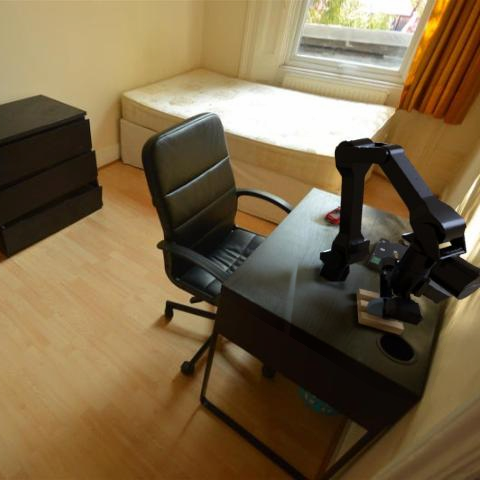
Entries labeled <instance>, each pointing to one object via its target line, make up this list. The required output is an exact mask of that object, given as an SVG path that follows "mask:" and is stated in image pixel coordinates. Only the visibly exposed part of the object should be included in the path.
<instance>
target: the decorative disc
mask: <svg viewBox="0 0 480 480" xmlns="http://www.w3.org/2000/svg"><path fill="white" fill-rule="evenodd" d="M401 240H402V243H403V244H404V246H406V247H408V246H409V244H410V243H409V242H407V241H406V240H405V239H403V238H402V239H401Z"/></svg>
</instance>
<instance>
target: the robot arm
mask: <svg viewBox="0 0 480 480" xmlns="http://www.w3.org/2000/svg"><path fill="white" fill-rule="evenodd" d="M334 164H335V165H334V166H335V168H336V170H337V172H338V174H339V175H340V177H341V184H340V185H341V186H340V204H339V205H340V206H339V207H340V222H339V225H338V233H337V235H336V236H335V237H334V239H333V241H332V242H331V247H330V249H327V250H324V251H321V252H319V260H320V261H321V264H320V266H319V268H318V269H319V270H318V276H319V277H322V278H323V279H324V280H326V281H328V282H332V283H337V282H346V281H347V278H348V276H349V275H350V272H351V268H350V267H351V266H352V265H356V264H359V263H363V262H364V261H365V260H367V258H368V256H369V255H371V252H370V246H371V240H370V239H367V238H365V237H364V235H363V233H362V224H363V209H364V197H365V196H364V195H365V183H366V175H367V174H368V172H369V171H370V169H371V168H372V167H373V165H378V166H379V169H381V171H382V173H383V174H384V175H385V177H386V178H387V180H388V181H389V183H390V184H391V186H392V188H393V189H394V190H395V192H396V193H397V195H398V196H399V198H400V199H401V201H402V203H403V204H404V206H405V207H406V209H407V211H408V213H409V216H408V217H409V218H408V220H409V225H410V228H411V230H412V231H411V232H407V233H403V234H401V236H400V237H401V238H402V239H405V240H406V241H407V242H409V243H410V244H409V246H408V247H407V246H406V247H407V249H406V250H405V252H404V254H403V255H402V257H401V258H400V259H399V258H393V257H389V256H386V257H383V258H381V260H380V262H379V263H378V264H379V270H378V271H380V270H384V269H385V272H379V274H378V276H379V278H378V281H379V282H378V283H379V294H380V298H383V297H384V298H383V305H382V319H385V320H388V319H390V318H392V319H395V320H398V322H401V323H405V324H406V323H407V324H408V325H409V324H410V325H414V326H419V325H421V323H423V321H424V320H425V318H424V317H425V316H424V314H423V310H422V307H421V305H420V303H419V302H416V301H415V300H414V299H413V298H412V296H411V295H413V297H416V298H421V297H422V296H423V297H425V298H427V299H428V300H430V301H432V302H433V303H434V304H436V305H439V304H442V303H443V302H445V301H446V300H449V299H450V298H452V297H454V298H455V299H456V300H458V301H461V300H464V299H466V298H468V297H469V296H471V295H473V294H474V293H475V292H476V291H478V290H479V289H480V267H479V266H476V265H474V264H473V263H471V262H470V261H468V260H466V259H465V258H463V257H461V256H462V255H465V254H467V252H468V251H467V242H466V235H465V234H466V233H465V232H466V229H467V227H468V225H467V222H466V220H465V218H463V217H462V216H461V214H459V213H458V212H457V210H455V208H453V207H452V206H451V205H449V204H447V203H446V202H444V201H442V200H441V199H439V198H438V197H437V196H436V195H435V193H434V192H432V190H431V189H430V187H429V186H428V184H427V183H426V182H425V180H424V179H423V177H422V176H421V174H420V173H419V172H418V171H417V169H416V168H415V166H414V165H413V164H412V162H411V160H410V159H409V158H408V157H407V155H406V153H405V150H404V147H403V146H402V145H400V144H397V143H392V144H391V143H387V142H381V141H373V140H372V138H370V137H359V138H351V139H345V140H342V141H340V142H339V143H338V144H337V145H336V146H335V148H334ZM446 243H449V244H450V245H447V246H444V247H440V245H442V244H446ZM392 297H393V298H392ZM387 298H389V299H387Z"/></svg>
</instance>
